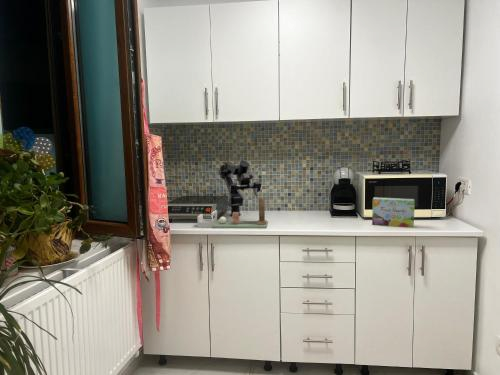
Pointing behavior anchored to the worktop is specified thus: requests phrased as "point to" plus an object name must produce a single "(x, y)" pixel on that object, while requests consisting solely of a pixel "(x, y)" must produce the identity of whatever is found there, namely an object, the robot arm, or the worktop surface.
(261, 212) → the post with bar block
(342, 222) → the worktop surface
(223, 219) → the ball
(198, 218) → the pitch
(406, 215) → the snack box
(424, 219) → the worktop surface
